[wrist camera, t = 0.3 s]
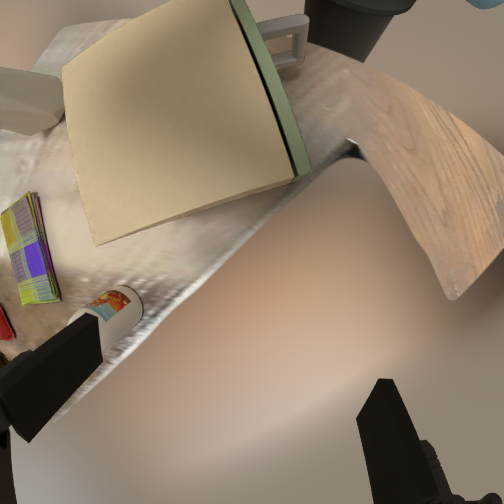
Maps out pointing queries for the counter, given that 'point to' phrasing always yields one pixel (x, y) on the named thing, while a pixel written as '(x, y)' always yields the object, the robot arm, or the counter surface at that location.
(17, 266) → the dish towel
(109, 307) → the milk bottle
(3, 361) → the ceramic jug
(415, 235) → the counter surface
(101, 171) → the cupboard
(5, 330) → the butter dish
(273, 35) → the cupboard door
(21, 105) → the tall faceted taper
